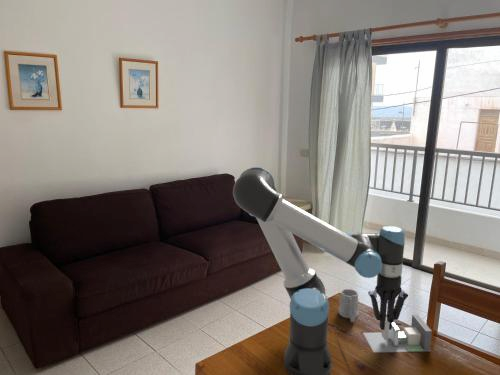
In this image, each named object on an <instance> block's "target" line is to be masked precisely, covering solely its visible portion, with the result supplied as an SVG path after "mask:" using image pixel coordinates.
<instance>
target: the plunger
mask: <svg viewBox="0 0 500 375" xmlns="http://www.w3.org/2000/svg"><path fill="white" fill-rule="evenodd" d="M399 331H400V328H399V327H398V325H396V323H395V322H393V323H392V328H391V330H389V336H388V337H389V338H390V340H391V341H392V343H393V344H394V346H396V345H398V343H405V342H408V336H407V335H406V334H405V332H399Z"/></svg>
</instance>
